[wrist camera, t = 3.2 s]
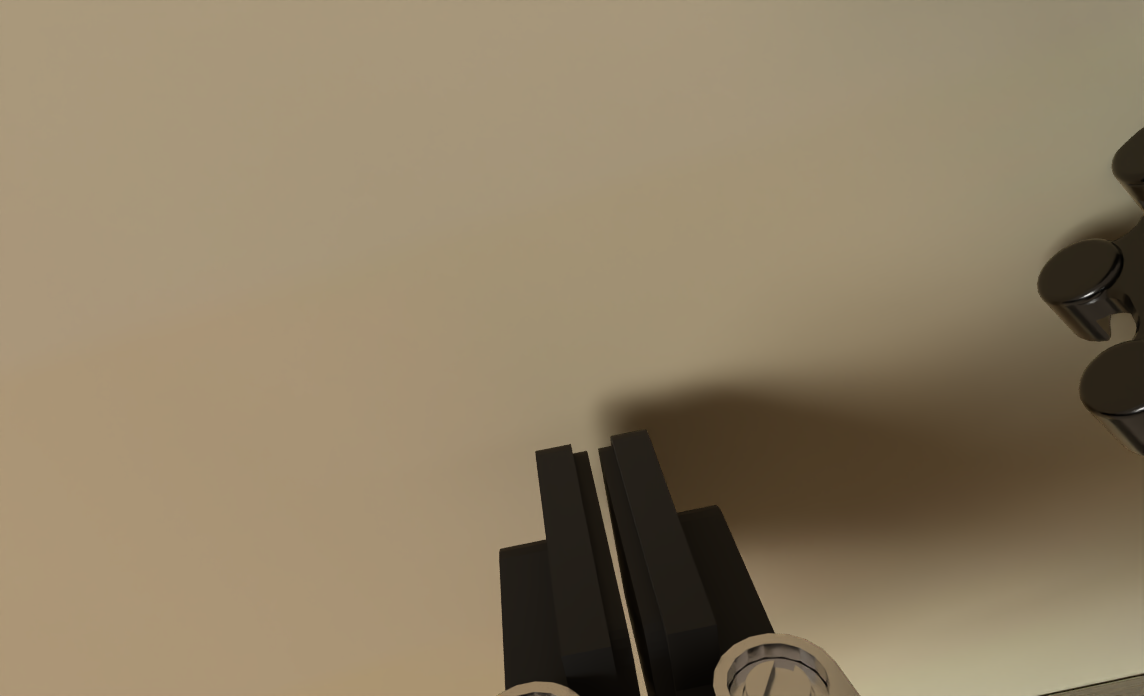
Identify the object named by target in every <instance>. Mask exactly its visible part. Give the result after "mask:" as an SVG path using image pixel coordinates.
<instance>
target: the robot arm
mask: <svg viewBox="0 0 1144 696" xmlns="http://www.w3.org/2000/svg"><path fill="white" fill-rule="evenodd" d="M610 438H611V446H609V447H604V448H599V449H598V450H599V456H600V462H601V468H602V473H603V479H604V484H605V490H606V495H607V501H608V506H609V512H610V517H611V523H612V528H613V534H614V539H615V545H616V551H617V556H618V562H619V567H620V573H621V578H622V584H623V589H624V594H625V599H626V604H627V608H628V613H629V617H630V621H631V625H632V630H633V634H634V638H635V642H636V647H637V651H638V655H639V659H640V664H641V668H642V672H643V676H644V681H645V685H646V689H647V693H648V696H860V695H859V693H858V692H857V691H856V689H855V688H854V687H853V685H852V684H851V682H850V681H849V680H848V678H847V677H846V675H845V674H844V673H843V671H842V670H841V669H840V667H839V666H838V664H837V663H836V662H835V661H834V660H833V659H832V658H831V657H830V656H829V655H828V654H827V653H826V652H825V651H824V650H823V649H822V648H820V647H819V646H817V645H815V644H813V643H812V642H810V641H808V640H806V639H803V638H800V637H796V636H792V635H789V634H775V633H774V630H773V628H772V626H771V624H770V621H769V619H768V617H767V614H766V612H765V610H764V608H763V605H762V603H761V601H760V598H759V596H758V594H757V592H756V589H755V587H754V585H753V582H752V580H751V578H750V576H749V573H748V571H747V569H746V566H745V564H744V562H743V560H742V557H741V555H740V553H739V551H738V548H737V546H736V544H735V541H734V539H733V537H732V535H731V532H730V530H729V528H728V525H727V523H726V521H725V519H724V516H723V514H722V512H721V510H720V508H719V507H718V506H717V505H714V506H709V507H704V508H699V509H694V510H689V511H684V512H679V513H677V512H676V510H675V507H674V504H673V501H672V498H671V496H670V493H669V490H668V487H667V485H666V482H665V479H664V476H663V473H662V471H661V468H660V465H659V462H658V460H657V457H656V454H655V451H654V448H653V446H652V443H651V440H650V437H649V435H648V432H647V430H646V429H644V430H639V431H634V432H629V433H624V434H619V435H614V436H611V437H610ZM535 453H536V462H537V470H538V478H539V486H540V493H541V501H542V509H543V517H544V525H545V533H546V540H542V541H537V542H532V543H527V544H522V545H517V546H512V547H507V548H502V549H500V552H499V563H500V584H501V605H502V627H503V648H504V669H505V690H506V691H504V692H502V693H500V694H498V695H497V696H640V691H639V686H638V680H637V675H636V669H635V664H634V658H633V653H632V648H631V643H630V638H629V634H628V629H627V624H626V620H625V616H624V611H623V607H622V602H621V598H620V594H619V589H618V585H617V580H616V576H615V572H614V567H613V563H612V558H611V554H610V550H609V545H608V541H607V537H606V532H605V528H604V523H603V519H602V515H601V510H600V506H599V501H598V497H597V493H596V488H595V484H594V480H593V475H592V471H591V466H590V462H589V458H588V453H587V451H584V452H579V453H574V454H573V453H572V448H571V444H569V445H564V446H559V447H554V448H549V449H544V450H539V451H536V452H535Z"/></svg>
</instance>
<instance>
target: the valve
mask: <svg viewBox="0 0 1144 696" xmlns="http://www.w3.org/2000/svg"><path fill="white" fill-rule="evenodd" d="M1112 171H1113V174H1114V176H1115V177H1116V179H1117V180H1118V181H1119V182H1120V184H1121V185H1122V186H1123V187H1124V188H1125V190H1126V191H1127V192H1128V193H1129V195H1130V196H1131V197H1132V198H1133V200H1134V201H1135V202H1136V203H1137V205H1138V206H1139V207H1140V208H1141V209H1142V211H1143V212H1144V127H1143V128H1142V129H1141V130H1139V131H1138V132H1137V133H1136V134H1135V135H1134V136H1133V137H1131V138H1130V139H1129V140H1128V141H1127V142H1126V143H1125V144H1124V145H1123V146H1122V147H1121V148H1120V149H1119V150H1118V151H1117V152H1116V154H1115V156H1114V158H1113V160H1112ZM1037 288H1038V293H1039V295H1040V297H1041V298H1042V299H1043V300H1044V301H1045V303H1046V304H1047V305H1048V306H1049V307H1050V308H1051V309H1052V310H1053V311H1054V312H1055V313H1056V314H1057V315H1058V316H1059V317H1060V319H1061V320H1062V321H1063V322H1064V323H1065V324H1066V325H1067V326H1068V327H1069V328H1070V329H1071V330H1072V331H1073V333H1074V334H1076V335H1077V336H1078V337H1080V338H1082V339H1085V340H1088V341H1097V342H1100V341H1108V340H1110V338H1111V327H1110V320H1111V314H1115V313H1122V312H1124V313H1131V315H1132V316H1133V318H1134V320H1135V323H1136V327H1137V329H1136V334H1135V336H1134V338H1133V339H1132V340H1131V341H1127V342H1123V343H1120V344H1117V345H1115V346H1112V347H1110V348H1108V349H1107V350H1105V351H1103V352H1102V353H1101V354H1099V355H1098V356H1097V357H1096V358H1095V359H1094V360H1093V361H1092V362H1091V363H1090V364H1089V365H1088V366H1087V368H1086V369H1085V371H1084V373H1083V375H1082V377H1081V380H1080V385H1079V393H1080V399H1081V401H1082V403H1083V405H1084V406H1085V408H1086V409H1087V410H1088V411H1089V412H1090V413H1091V414H1092V415H1093V416H1094V417H1095V418H1096V419H1097V420H1098V421H1099V422H1100V423H1101V424H1102V425H1103V426H1104V427H1105V428H1106V429H1107V430H1108V431H1109V432H1110V433H1111V434H1112V435H1113V436H1114V437H1115V438H1116V439H1117V440H1118V441H1119V442H1120V443H1121V444H1122V445H1123V446H1124V447H1125V448H1126V449H1128V450H1130V451H1131V452H1133V453H1136V454H1138V455H1142V456H1144V214H1143V215H1142V217H1141V219H1140V220H1139V222H1138V224H1137V225H1136V226H1135V227H1134V228H1133V229H1132V230H1131V231H1130V232H1129V233H1127V234H1126V235H1124V236H1123V237H1121V238H1119V239H1117V240H1115V241H1113V242H1111V241H1108V240H1105V239H1087V240H1082V241H1079V242H1076V243H1074V244H1071V245H1069V246H1067V247H1065V248H1064V249H1062V250H1061V251H1059V252H1058V253H1056V254H1055V255H1054V256H1053V257H1052V258H1051V259H1050V260H1049V261H1048V262H1047V263H1046V264H1045V266H1044V267H1043V269H1042V270H1041V272H1040V275H1039V277H1038V282H1037Z"/></svg>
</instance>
